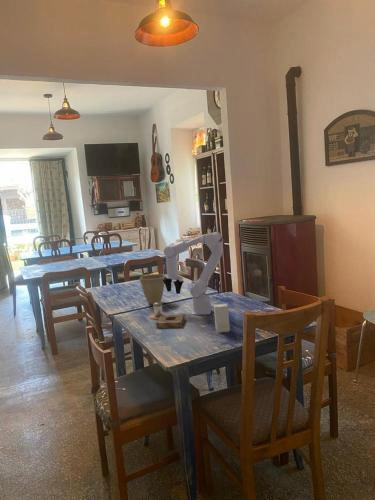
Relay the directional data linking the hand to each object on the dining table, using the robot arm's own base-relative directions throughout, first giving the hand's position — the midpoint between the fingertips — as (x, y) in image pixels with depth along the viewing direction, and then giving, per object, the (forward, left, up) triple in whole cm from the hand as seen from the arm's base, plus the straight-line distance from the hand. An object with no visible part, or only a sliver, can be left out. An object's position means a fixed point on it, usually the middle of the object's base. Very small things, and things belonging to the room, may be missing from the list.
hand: (173, 292), depth 206 cm
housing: (-1, +20, -10) cm, 23 cm away
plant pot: (+16, -18, -11) cm, 26 cm away
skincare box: (-27, +32, -11) cm, 43 cm away
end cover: (+7, +10, -10) cm, 16 cm away
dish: (+8, +9, -10) cm, 16 cm away
